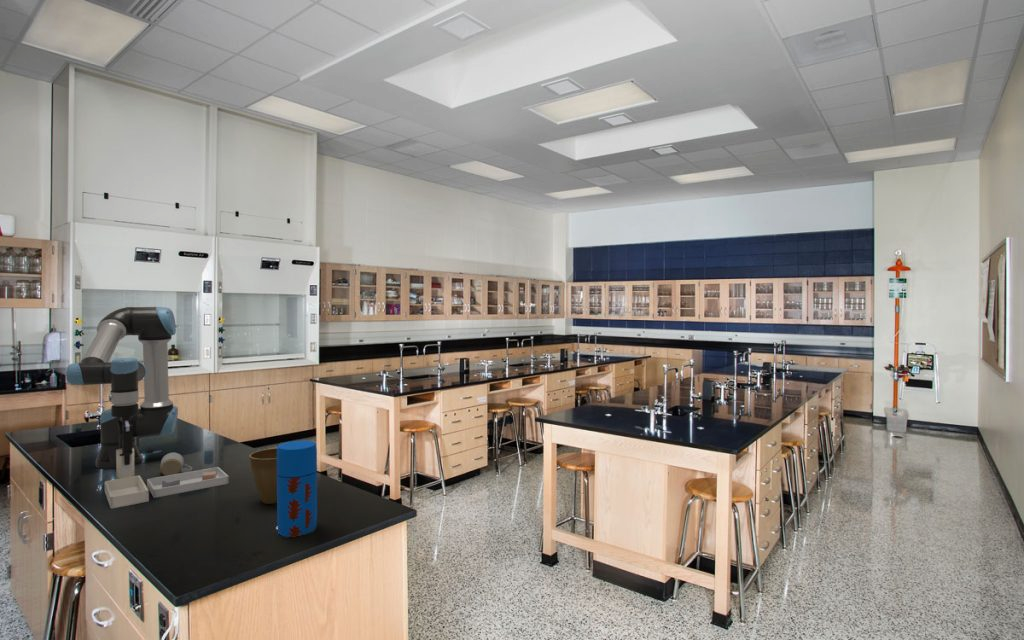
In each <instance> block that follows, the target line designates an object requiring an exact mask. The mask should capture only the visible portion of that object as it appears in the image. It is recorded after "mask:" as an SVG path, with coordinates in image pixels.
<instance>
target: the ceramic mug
mask: <svg viewBox="0 0 1024 640" xmlns="http://www.w3.org/2000/svg"><path fill="white" fill-rule="evenodd" d="M159 469H160V472H161V473H162V475H163V476H168V475H174V474H180V473H185V472H191V471H193V467H192V466H191V465H188V464H186V463H185V461H184V457H183V456H182V454H180V453H177V452H169V453H167V454H165V455H164V456H163V457H162V459H161V461H160V468H159Z"/></svg>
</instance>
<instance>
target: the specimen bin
mask: <svg viewBox="0 0 1024 640" xmlns="http://www.w3.org/2000/svg"><path fill="white" fill-rule="evenodd" d="M104 493H105V496H106V499H107V501H108V502H107V503H108V504H109V508H110V509H111V510H113V509H118V508H123V507H128V506H133V505H139V504H144V503H149V501H150V491H149V489H148V488H147V484H145V482H144V480H143V478H142V477H141V475H139V474H138V475H133V476H131V477H126V478H115V479H110V480H104Z"/></svg>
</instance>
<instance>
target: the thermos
mask: <svg viewBox="0 0 1024 640" xmlns="http://www.w3.org/2000/svg"><path fill="white" fill-rule="evenodd" d="M276 448H277V503H276V519H277V522H276V523H277V535H279V534H280V535H282V536H297V535H302V534H305V533H308V532H310V531H312V530H313V529H315V527H316V528H317V523H318V522H317V521H318V485H317V484H318V478H317V477H318V467H317V466H318V465H317V463H318V459H317V457H318V456H317V455H318V453H317V451H318V450H317V444H316V442H315V441H311V440H293V441H287V442H284V443H283V442H282V443H280V444H279V445H277V447H276ZM315 530H316V529H315ZM280 535H279V536H280ZM282 536H281V537H282Z"/></svg>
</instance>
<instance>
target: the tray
mask: <svg viewBox="0 0 1024 640" xmlns="http://www.w3.org/2000/svg"><path fill="white" fill-rule="evenodd" d="M214 471H216V478H214V479H208V480H203V481H202V475H203V473H204V472H214ZM171 478H177V479H179V480H180V485H175V486H170V487H164V488H162V480H167V479H171ZM228 484H230V476H229V475H228V474H227V473H226V472H225V471H224V470H222V468H220V467H219V466H215V467H209V468H204V469H203V468H202V469H199V470H192V471H191V472H185V473H183V472H179V473H178V474H174V475H168V476H165V475H162V476H158V477H157V476H156V477H152V478H147V479H146V487H147V488H148V490H149V494H151V496H152V497H153V499H154V498H155V499H156V498H161V497H165V496H167V497H168V496H171V495H172V496H173V495H176V494H182V493H187V492H193V491H197V490H203V489H208V488H212V487H218V486H222V485H223V486H224V485H228Z"/></svg>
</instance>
